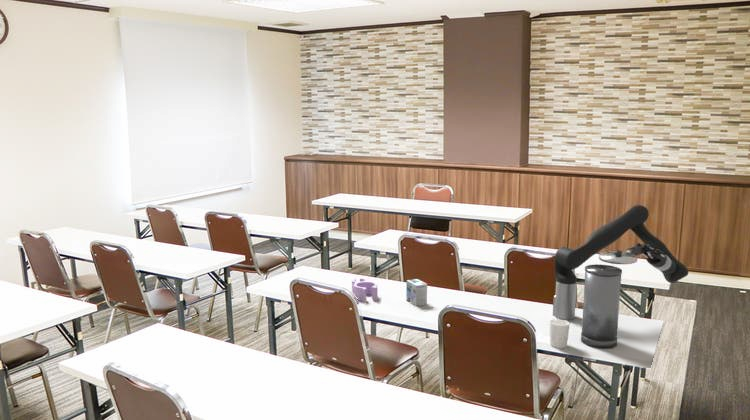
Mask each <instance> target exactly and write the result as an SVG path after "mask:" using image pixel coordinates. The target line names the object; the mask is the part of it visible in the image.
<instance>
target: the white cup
mask: <svg viewBox="0 0 750 420" xmlns="http://www.w3.org/2000/svg"><path fill="white" fill-rule="evenodd" d="M569 333H570V321H568V320H565V319H559V318H557V319H556V318H553V319H551V320H550V321H549V341H550V342H549V344H550V346H551V347H552V348H555V349H565V348H567V347H568V340H569Z"/></svg>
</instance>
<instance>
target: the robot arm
mask: <svg viewBox="0 0 750 420" xmlns="http://www.w3.org/2000/svg"><path fill="white" fill-rule="evenodd" d="M649 216H650V212H649V209H648V208H647V207H646V206H644V205H641V204H635V205H633V206H631V207H630V208H629V209H627V210H626V211H625V212H624V213H623V214H622V215H620V216H618V217H616V218H615V219H613V220H611V221H609V222H607V223H606V224H603V225H602V226H600V227H598V228H597V229H595V230H593V232H591V233H590V234H589V237H588V238H587V240H586V242H585V243H584V244H582V245H581V246H579V247H577V248H575V249H572V248H570V247H566V246H565V247H559V249H557V251H556V252H555V256H554V276H555V295H553V301H552V302H553V303H552V315H553V316H554V317H555V318H557V319H560V320H565V321H568V320H570V321H571V320H574V319H576V302H577V301H576V300H577V283H578V280H577V279H578V278H577V276H576V274H575V273H574V271H573V270H575V269H578V268H579V267H581V266H582V265H583V264H584V263H585V262H586V261H588V260H589V259H590V258H591V257H593V256H594V255H596V254H597V253H600V251H602V250H603V249H606V248H607V247H609V246H610V245H611V244H613V243H615V242H616V241H618V239H620V238H621V237H622V236H624V235H625V233H627V232H628V231H629V230H631V232H633V233H634V234H635V235H636V236H637V237H638V238H639V240H640V241H641V242H642V243H643V244H641V243H640V242H636V244H635V246H639V245H643V247H642V249H643V250H645V251H646V252H647V253H643V254H642V255H643V256H644V257H645V258H646V262H647V263H648V264H649V265H651V266H652V267H653V268H654V269H656V270H658V271H660V272H661V273H662V275H663V277H664V279H665V281H667V282H668V283H671V284H673V283H676V282H678V281H681V280H682V279H683V278H685V277H687V276H688V275H689V269H688V267H687V266H686V265H685V264H684V263H682V262H681V261H680V260H678V259H677V258H676V256H674V255H673V253H672V252H671V251H670V250H669V248H668V247H667V246H666V244H665V243H664V242H663V241H662V240H661V239H659V238H658V237H657V236H655V235H654V234H652V233H651V232H650V231H649V229H648V228H647V227H646V226H645V224H644V223H646V222H647V220H648V218H649ZM646 244H647V245H650V247H648V246H647V245H646Z"/></svg>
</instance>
